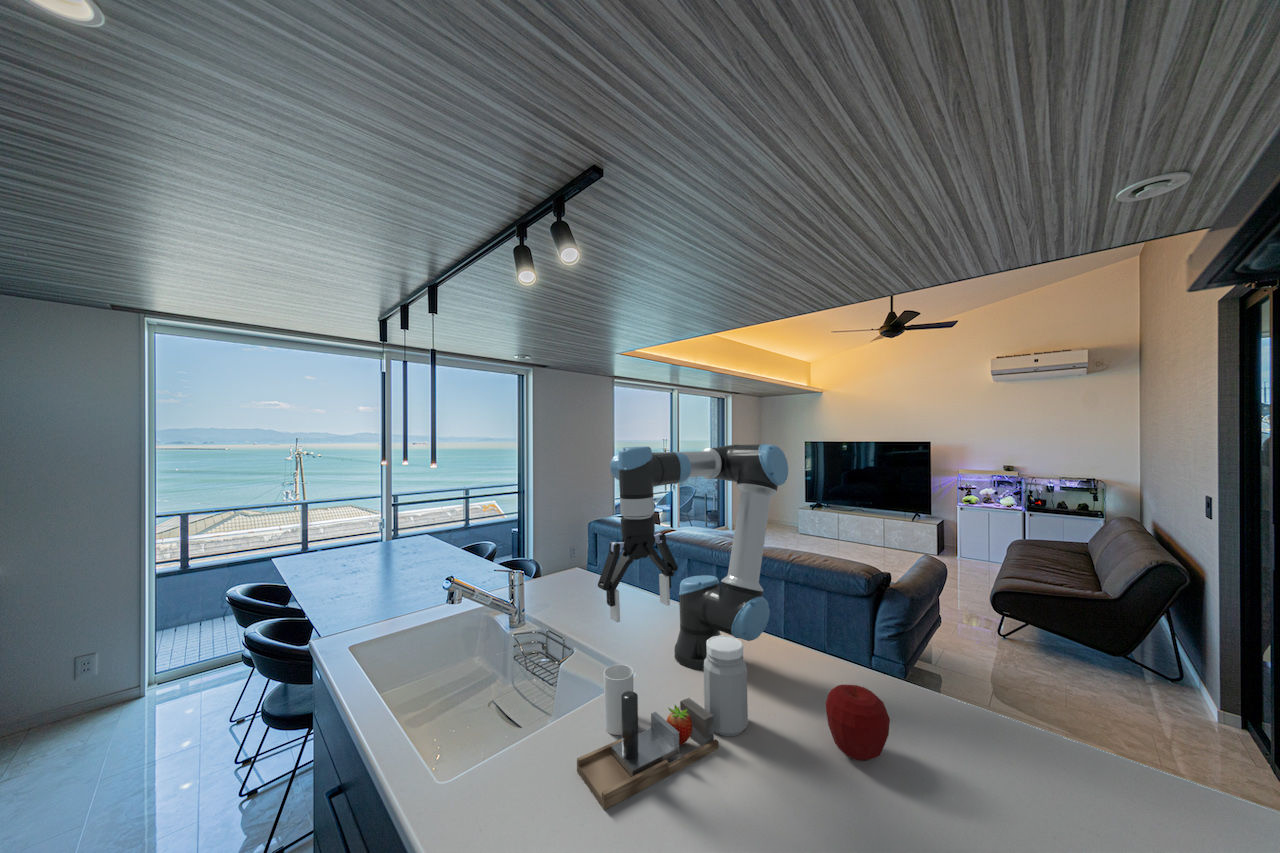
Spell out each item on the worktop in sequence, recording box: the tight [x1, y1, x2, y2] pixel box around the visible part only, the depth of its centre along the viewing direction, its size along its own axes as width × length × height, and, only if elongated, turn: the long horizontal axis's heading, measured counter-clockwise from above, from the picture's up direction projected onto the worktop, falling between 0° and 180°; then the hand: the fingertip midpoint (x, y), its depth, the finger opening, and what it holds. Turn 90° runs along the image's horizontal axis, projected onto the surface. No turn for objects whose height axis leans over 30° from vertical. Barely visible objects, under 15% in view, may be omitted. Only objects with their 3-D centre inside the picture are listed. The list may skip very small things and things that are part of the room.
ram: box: [611, 691, 680, 776], centre depth 88 cm, size 11×8×12 cm
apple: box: [825, 684, 891, 762], centre depth 89 cm, size 12×12×13 cm
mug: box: [603, 663, 634, 736], centre depth 100 cm, size 10×7×12 cm, turn 160°
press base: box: [576, 697, 720, 811], centre depth 88 cm, size 27×11×6 cm, turn 124°
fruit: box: [666, 704, 692, 746], centre depth 92 cm, size 5×5×8 cm
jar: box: [703, 634, 749, 737], centre depth 99 cm, size 10×10×18 cm
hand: (641, 611), depth 98 cm, fingers open, 13 cm apart
